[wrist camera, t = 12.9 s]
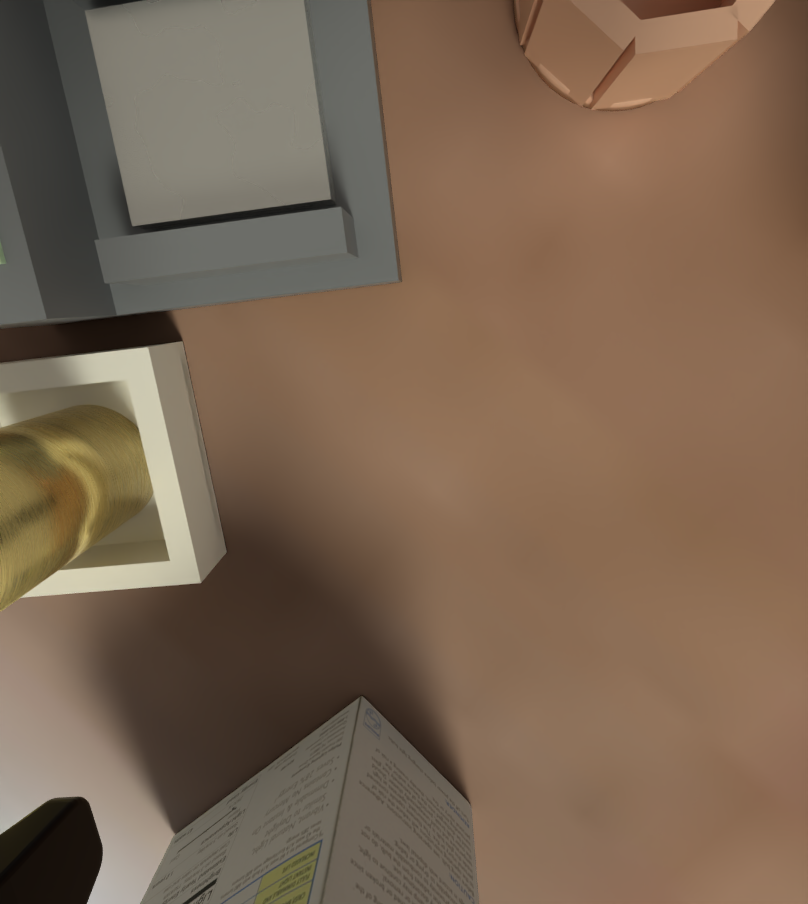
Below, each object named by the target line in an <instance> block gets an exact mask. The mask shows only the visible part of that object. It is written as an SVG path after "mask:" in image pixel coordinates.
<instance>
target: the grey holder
mask: <svg viewBox="0 0 808 904" xmlns="http://www.w3.org/2000/svg"><path fill="white" fill-rule="evenodd" d="M138 1H143V0H0V329H3V328H17V327H32V326H46V325H57V324H65V323H73V322H81V321H89V320H97V319H106V318H114V317H122V316H130V315H138V314H146V313H154V312H163V311H171V310H179V309H187V308H195V307H203V306H211V305H220V304H228V303H236V302H244V301H252V300H260V299H268V298H277V297H285V296H293V295H301V294H309V293H317V292H325V291H334V290H342V289H350V288H358V287H366V286H374V285H382V284H391V283H399V282H402V277H401V268H400V259H399V250H398V241H397V232H396V224H395V215H394V206H393V197H392V188H391V179H390V170H389V161H388V152H387V143H386V134H385V125H384V116H383V107H382V98H381V90H380V81H379V72H378V63H377V54H376V45H375V36H374V27H373V18H372V9H371V0H309V5H310V12H311V20H312V27H313V35H314V42H315V49H316V57H317V64H318V72H319V79H320V86H321V94H322V101H323V109H324V116H325V123H326V131H327V138H328V146H329V153H330V160H331V168H332V175H333V183H334V190H335V197H336V204H334V205H327V206H319V207H312V208H305V209H297V210H290V211H282V212H275V213H268V214H260V215H253V216H246V217H238V218H231V219H224V220H216V221H209V222H201V223H194V224H187V225H179V226H172V227H165V228H157V229H150V230H146V229H142V228H138V227H133V226H132V223H131V218H130V214H129V209H128V205H127V200H126V196H125V191H124V187H123V182H122V178H121V173H120V169H119V164H118V159H117V155H116V150H115V146H114V141H113V137H112V132H111V128H110V123H109V119H108V114H107V109H106V105H105V100H104V96H103V91H102V87H101V82H100V78H99V73H98V69H97V64H96V60H95V55H94V50H93V46H92V41H91V37H90V32H89V28H88V23H87V19H86V14H85V10H91V9H97V8H103V7H108V6H114V5H120V4H126V3H132V2H138Z"/></svg>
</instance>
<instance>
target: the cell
mask: <svg viewBox="0 0 808 904" xmlns="http://www.w3.org/2000/svg"><path fill="white" fill-rule="evenodd" d="M153 493H154V491H153V487H152V483H151V479H150V474H149V470H148V466H147V462H146V457H145V453H144V449H143V445H142V441H141V436H140V432H139V428H138V427H137V426H136V425H135V424H134V423H133V422H132V421H130V420H129V419H128V418H126V417H125V416H123V415H122V414H120V413H118V412H116V411H114V410H112V409H109V408H106V407H103V406H98V405H89V404H88V405H77V406H72V407H69V408H65V409H62V410H58V411H55V412H52V413H48V414H45V415H42V416H38V417H35V418H31V419H28V420H25V421H21V422H18V423H14V424H11V425H8V426H4V427H1V428H0V612H1V611H2V610H4V609H5V608H7V607H8V606H9V605H11V604H12V603H14V602H15V601H16V600H18V599H19V598H20V597H22V596H23V595H25V594H26V593H27V592H29V591H30V590H32V589H33V588H34V587H36V586H37V585H39V584H40V583H41V582H43V581H44V580H46V579H47V578H48V577H50V576H51V575H53V574H54V573H55V572H57V571H58V570H60V569H61V568H62V567H64V566H65V565H67V564H68V563H69V562H71V561H72V560H74V559H75V558H76V557H78V556H79V555H81V554H82V553H83V552H85V551H86V550H87V549H89V548H90V547H92V546H93V545H94V544H96V543H97V542H99V541H100V540H101V539H103V538H104V537H106V536H107V535H108V534H110V533H111V532H113V531H114V530H115V529H117V528H118V527H120V526H121V525H122V524H124V523H125V522H127V521H128V520H129V519H131V518H132V517H134V516H135V515H136V514H138V513H139V512H140V511H141V510H142V509H143V508H144V507H145V506H146V505H147V504H148V502H149V501H150V499H151V497H152V495H153Z"/></svg>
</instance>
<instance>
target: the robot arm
mask: <svg viewBox="0 0 808 904" xmlns="http://www.w3.org/2000/svg"><path fill="white" fill-rule="evenodd" d="M102 856H103V848H102V843H101V839H100V836H99V833H98V830H97V827H96V823H95V820H94V817H93V814H92V811H91V807H90V805H89V802H88V801H87V800H86V799H85V798H83V797H63V798H54V799H51V800H49V801H47V802H45V803H44V804H42V805H41V806H40V807H38V808H37V809H35V810H34V811H33V812H31V813H30V814H28V815H27V816H26V817H24V818H23V819H22V820H20V821H19V822H17V823H16V824H15V825H13V826H12V827H10V828H9V829H8V830H6V831H5V832H3V833H2V834H1V835H0V904H87V902H88V899H89V896H90V894H91V891H92V889H93V886H94V883H95V881H96V878H97V876H98V873H99V870H100V867H101V863H102Z"/></svg>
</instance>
